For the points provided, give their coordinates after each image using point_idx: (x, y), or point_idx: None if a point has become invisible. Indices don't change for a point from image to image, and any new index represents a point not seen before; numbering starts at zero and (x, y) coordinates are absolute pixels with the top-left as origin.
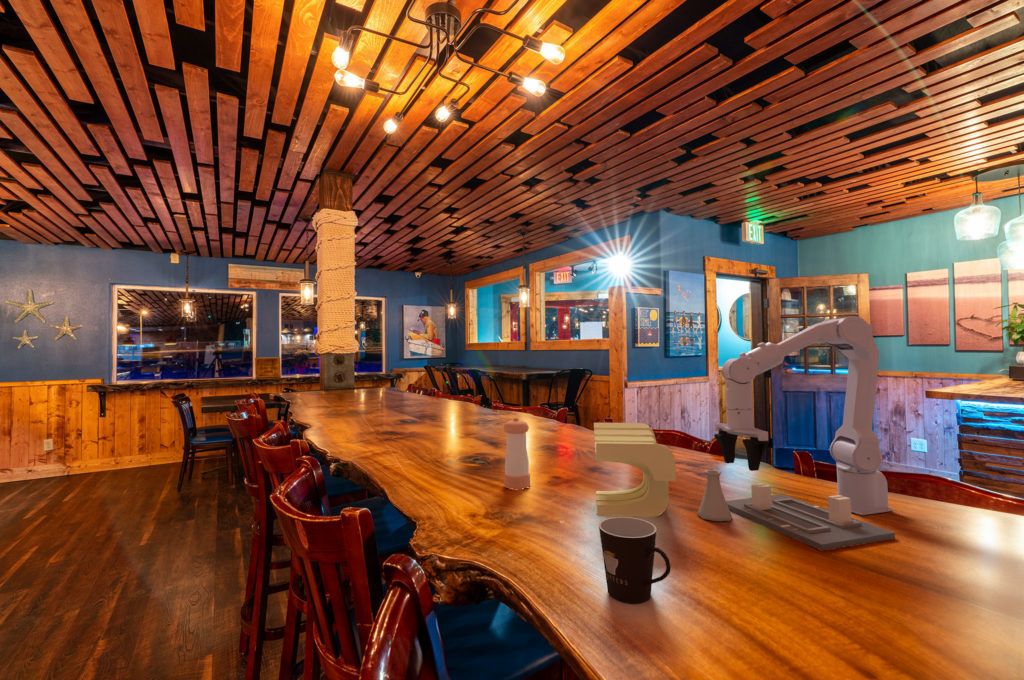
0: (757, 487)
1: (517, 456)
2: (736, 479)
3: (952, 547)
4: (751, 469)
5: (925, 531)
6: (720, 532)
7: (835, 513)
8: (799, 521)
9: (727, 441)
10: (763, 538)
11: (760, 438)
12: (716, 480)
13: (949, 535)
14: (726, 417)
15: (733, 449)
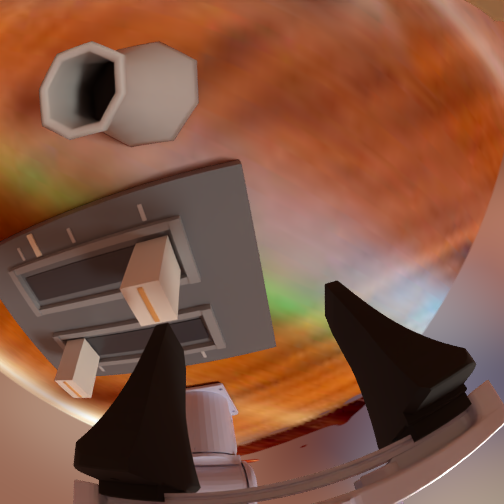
0: (130, 284)
1: None
2: (415, 304)
3: (62, 393)
4: (154, 329)
5: (110, 405)
6: (32, 76)
7: (68, 355)
8: (67, 289)
9: (381, 387)
10: (5, 171)
11: (77, 492)
12: (66, 99)
13: (103, 412)
14: None
15: (353, 366)
